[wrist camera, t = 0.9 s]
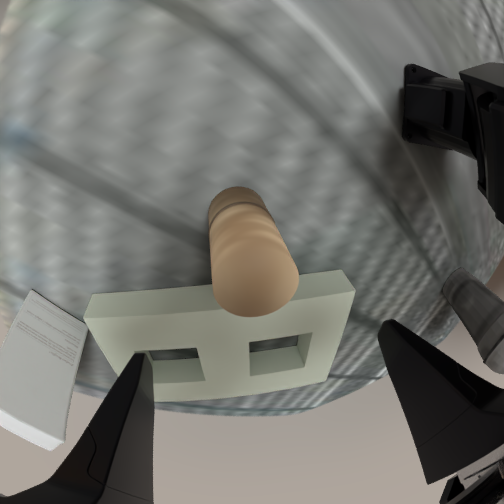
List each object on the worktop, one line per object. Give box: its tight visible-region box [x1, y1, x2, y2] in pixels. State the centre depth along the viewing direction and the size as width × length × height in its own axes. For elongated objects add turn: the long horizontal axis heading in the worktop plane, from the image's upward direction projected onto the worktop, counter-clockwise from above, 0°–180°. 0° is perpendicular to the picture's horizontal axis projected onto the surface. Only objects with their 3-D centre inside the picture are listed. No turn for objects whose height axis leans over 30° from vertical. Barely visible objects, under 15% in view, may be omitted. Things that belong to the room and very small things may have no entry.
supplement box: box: [0, 290, 89, 451], centre depth 17 cm, size 7×7×13 cm
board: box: [83, 270, 356, 402], centre depth 25 cm, size 22×14×3 cm, turn 90°
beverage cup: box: [443, 268, 504, 374], centre depth 20 cm, size 7×7×20 cm
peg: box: [208, 187, 299, 317], centre depth 16 cm, size 4×4×8 cm
